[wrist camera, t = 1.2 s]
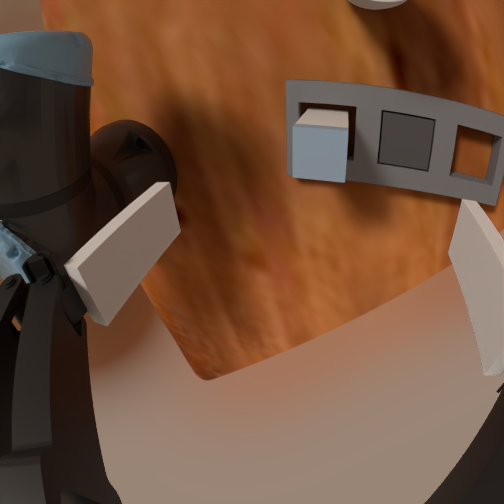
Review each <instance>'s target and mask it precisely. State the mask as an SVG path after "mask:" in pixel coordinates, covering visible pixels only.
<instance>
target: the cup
mask: <svg viewBox="0 0 504 504" xmlns="http://www.w3.org/2000/svg"><path fill="white" fill-rule="evenodd" d="M347 1H348V2H350V3H352V4H354V5H356V6H358V7H361V8H365V9H371V10H379V9H386V8H392V7H395V6H398V5H400V4H402V3H404V2H405V1H407V0H347Z"/></svg>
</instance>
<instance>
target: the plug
mask: <svg viewBox="0 0 504 504" xmlns="http://www.w3.org/2000/svg"><path fill="white" fill-rule="evenodd" d="M292 130H293V178H303V179H314V180H324V181H333V182H342V183H345V175H346V162H347V147H348V111H347V110H336V109H324V108H308V109H307V111H306V112H305V113H304V114H303V115H302V116H301V118H300V119H299V120H298V121H297V122H296V123H295V124H294V126H293V127H292Z"/></svg>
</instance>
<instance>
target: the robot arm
mask: <svg viewBox="0 0 504 504" xmlns="http://www.w3.org/2000/svg"><path fill="white" fill-rule="evenodd" d="M92 56H93V46H92V43H91V40H90V39H89V38H88V37H87V36H86V35H85V34H83V33H80V32H74V31H31V32H30V31H29V32H16V33H7V34H0V277H1V278H2V279H3V280H4V281H3V282H2V284H1V285H0V504H122V503H121V500H120V497H119V496H118V494H117V492H116V490H115V489H114V488H113V486H112V485H111V484H110V483H109V481H108V478H107V476H106V472H105V467H104V463H103V459H102V454H101V449H100V444H99V439H98V433H97V428H96V421H95V415H94V408H93V401H92V393H91V385H90V374H89V362H88V347H87V324H86V321H85V319H84V317H83V316H84V314H85V313H86V312H87V311H88V313H89V314H90V316H91V318H92V320H93V321H94V322H96V323H99V324H102V325H106V326H108V325H109V324H110V322H111V320H112V319H113V318H114V317H115V315H116V314H117V313H118V311H119V310H120V309H121V307H122V306H123V305H124V303H125V302H126V301H127V299H128V298H129V296H130V295H131V294H132V292H133V291H134V290H135V289H136V287H137V286H138V285H139V283H140V282H141V281H142V280H143V278H144V277H145V276H146V274H147V273H148V272H149V271H150V269H151V268H152V267H153V266H154V264H155V263H156V262H157V261H158V259H159V258H160V257H161V256H162V254H163V253H164V252H165V251H166V249H167V248H168V247H169V246H170V244H171V243H172V242H173V241H174V240H175V238H176V237H177V236H178V235H179V233H180V232H181V229H180V225H179V221H178V217H177V212H176V208H175V204H174V199H173V198H174V196H175V192H176V185H177V177H176V169H175V165H174V162H173V159H172V156H171V154H170V152H169V150H168V148H167V146H166V145H165V143H164V142H163V141H162V139H161V138H160V137H159V136H158V135H157V134H156V133H155V132H154V131H153V130H152V129H150V128H149V127H147V126H146V125H144V124H142V123H139V122H137V121H133V120H118V121H115V122H112V123H110V124H108V125H105V126H103V127H101V128H100V129H98V130H97V131H96V132H94V133H93V135H92V136H91V137H90V98H91V86H93V85H94V80H93V78H92ZM448 254H449V257H450V259H451V262H452V265H453V267H454V270H455V273H456V276H457V278H458V281H459V284H460V287H461V290H462V293H463V296H464V299H465V302H466V306H467V309H468V312H469V316H470V319H471V323H472V326H473V330H474V334H475V338H476V341H477V346H478V350H479V354H480V359H481V363H482V368H483V373H484V376H485V375H501V374H502V373H503V372H504V241H503V239H502V237H501V236H500V234H499V233H498V231H497V230H496V228H495V227H494V225H493V224H492V222H491V221H490V219H489V218H488V216H487V215H486V214H485V212H484V211H483V209H482V208H481V207H480V205H479V204H478V203H477V201H472V200H465V199H462V201H461V206H460V210H459V214H458V218H457V222H456V226H455V230H454V234H453V237H452V241H451V244H450V248H449V251H448ZM13 317H15V319H16V320H17V321H18V323H19V324H20V326H21V330H20V331H18V330H17V329H16V328H15V326H14V325H13V324H12V319H13ZM501 390H502V391H501ZM500 391H501V393H500V395H499V397H498V399H497V401H496V403H495V404H494V406H493V408H492V410H491V412H490V413H489V415H488V417H487V419H486V420H485V422H484V424H483V425H482V427H481V429H480V430H479V432H478V433H477V435H476V437H475V438H474V440H473V441H472V443H471V444H470V446H469V447H468V449H467V450H466V452H465V453H464V454H463V456H462V457H461V459H460V460H459V462H458V463H457V464H456V466H455V467H454V468H453V470H452V471H451V472H450V473H449V475H448V476H447V477H446V479H445V480H444V481H443V483H442V484H441V485H440V486H439V487H438V489H437V490H436V491H435V492H434V493H433V494H432V496H431V497H430V498H429V499H428V500H427V501H426V502H425V504H504V383H503V385H502V386H501V387H500V388H499V389H498V390H497V392H498V393H499V392H500Z"/></svg>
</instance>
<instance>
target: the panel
mask: <svg viewBox="0 0 504 504" xmlns="http://www.w3.org/2000/svg"><path fill="white" fill-rule="evenodd" d="M285 81H286V123H287V175H293V130H292V127H293V126H294V124H295V123H296V122H297V121H298V120H299V119H300V118H301V102H307V103H323V104H336V105H347V106H356V120H355V139H354V153H353V155H347V162H346V175H345V180H347V181H355V182H363V183H371V184H378V185H385V186H392V187H398V188H405V189H411V190H417V191H423V192H428V193H434V194H439V195H445V196H450V197H455V198H460V199H465V200H472V201H477V202H479V203H484V204H488V205H492V206H495V205H496V202H497V198H498V195H499V191H500V187H501V183H502V179H503V175H504V115H501V114H498V113H495V112H492V111H489V110H485V109H482V108H479V107H475V106H472V105H468V104H465V103H461V102H457V101H453V100H449V99H445V98H441V97H437V96H432V95H427V94H423V93H418V92H412V91H407V90H401V89H395V88H389V87H382V86H374V85H366V84H358V83H348V82H336V81H322V80H300V79H288V80H285ZM457 125H462V126H466V127H470V128H473V129H477V130H481V131H484V132H487V133H491V134H494V140H493V146H492V151H491V156H490V161H489V166H488V171H487V175H486V179H483V178H479V177H475V176H471V175H466V174H462V173H457V172H453V171H450V169H451V164H452V159H453V153H454V147H455V140H456V133H457Z"/></svg>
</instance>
